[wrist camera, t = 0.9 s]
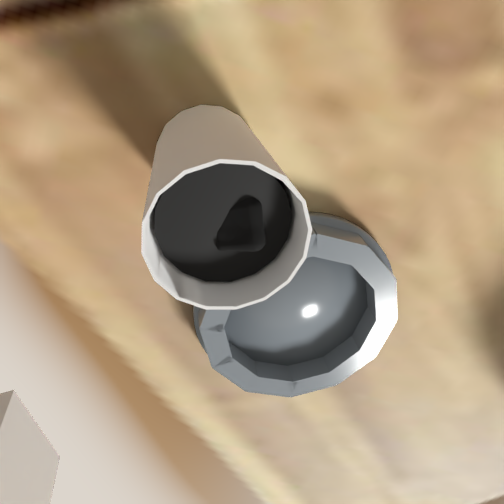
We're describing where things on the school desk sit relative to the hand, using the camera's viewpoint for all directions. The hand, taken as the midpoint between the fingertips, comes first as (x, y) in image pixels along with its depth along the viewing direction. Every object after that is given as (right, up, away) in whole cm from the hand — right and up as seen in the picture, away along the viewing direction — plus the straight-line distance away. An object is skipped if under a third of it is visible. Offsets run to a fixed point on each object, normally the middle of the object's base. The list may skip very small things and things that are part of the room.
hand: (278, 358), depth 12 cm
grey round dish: (+2, -1, +21) cm, 21 cm away
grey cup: (-3, +8, +14) cm, 17 cm away
